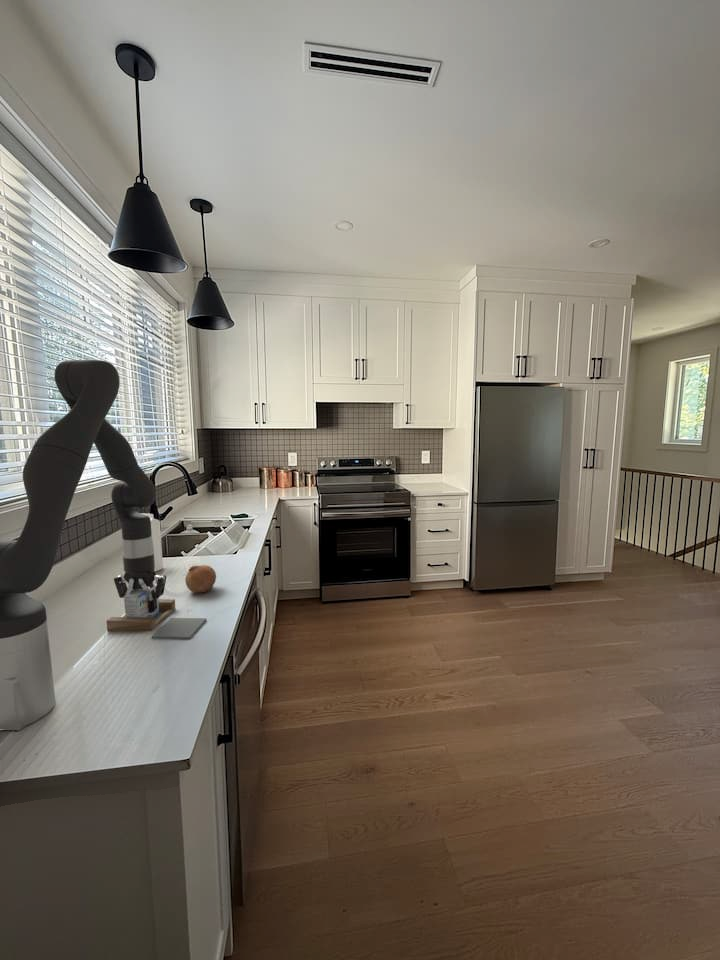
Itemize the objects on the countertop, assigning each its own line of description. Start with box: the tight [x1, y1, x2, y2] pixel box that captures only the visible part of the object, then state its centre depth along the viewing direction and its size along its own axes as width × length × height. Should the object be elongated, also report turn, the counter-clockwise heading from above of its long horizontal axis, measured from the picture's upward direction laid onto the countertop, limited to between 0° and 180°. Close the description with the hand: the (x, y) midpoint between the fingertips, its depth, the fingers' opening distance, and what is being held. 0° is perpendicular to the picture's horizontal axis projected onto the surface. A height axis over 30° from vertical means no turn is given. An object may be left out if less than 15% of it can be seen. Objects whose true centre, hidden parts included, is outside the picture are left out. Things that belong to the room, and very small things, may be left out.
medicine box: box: [123, 585, 160, 618], centre depth 110 cm, size 8×4×9 cm, turn 169°
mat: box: [150, 617, 207, 640], centre depth 105 cm, size 10×10×1 cm
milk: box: [140, 512, 164, 573], centre depth 149 cm, size 6×6×22 cm
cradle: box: [106, 598, 176, 633], centre depth 110 cm, size 13×12×3 cm
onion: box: [184, 564, 217, 594], centre depth 130 cm, size 10×9×10 cm
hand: (142, 611), depth 110 cm, fingers closed on medicine box, 5 cm apart
